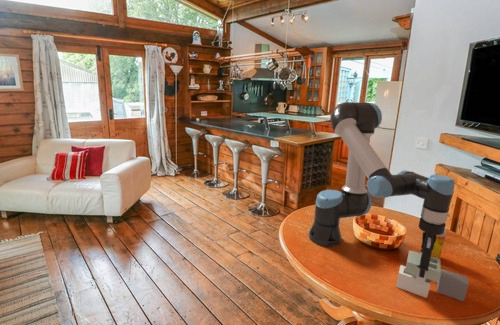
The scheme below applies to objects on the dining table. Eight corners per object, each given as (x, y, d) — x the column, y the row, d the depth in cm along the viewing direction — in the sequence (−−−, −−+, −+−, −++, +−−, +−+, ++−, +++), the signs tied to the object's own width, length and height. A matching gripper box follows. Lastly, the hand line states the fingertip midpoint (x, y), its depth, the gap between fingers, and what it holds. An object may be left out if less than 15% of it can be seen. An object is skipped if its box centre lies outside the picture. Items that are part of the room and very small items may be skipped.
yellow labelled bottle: (441, 261, 123) (449, 230, 119) (426, 259, 124) (433, 228, 120) (436, 254, 129) (443, 223, 125) (421, 252, 130) (428, 222, 126)
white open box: (395, 286, 107) (400, 264, 104) (397, 278, 111) (402, 256, 109) (426, 298, 101) (432, 275, 99) (427, 288, 106) (432, 266, 104)
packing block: (437, 292, 105) (441, 275, 103) (437, 284, 109) (441, 268, 107) (463, 301, 100) (468, 284, 99) (462, 293, 105) (467, 276, 103)
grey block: (405, 271, 102) (407, 261, 101) (407, 259, 109) (409, 250, 108) (438, 282, 97) (440, 272, 96) (438, 268, 104) (440, 259, 103)
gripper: (446, 236, 87) (431, 298, 93) (445, 211, 105) (432, 265, 111) (418, 229, 91) (405, 288, 97) (421, 206, 109) (411, 258, 115)
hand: (420, 276), depth 104 cm, fingers closed on grey block, 9 cm apart
